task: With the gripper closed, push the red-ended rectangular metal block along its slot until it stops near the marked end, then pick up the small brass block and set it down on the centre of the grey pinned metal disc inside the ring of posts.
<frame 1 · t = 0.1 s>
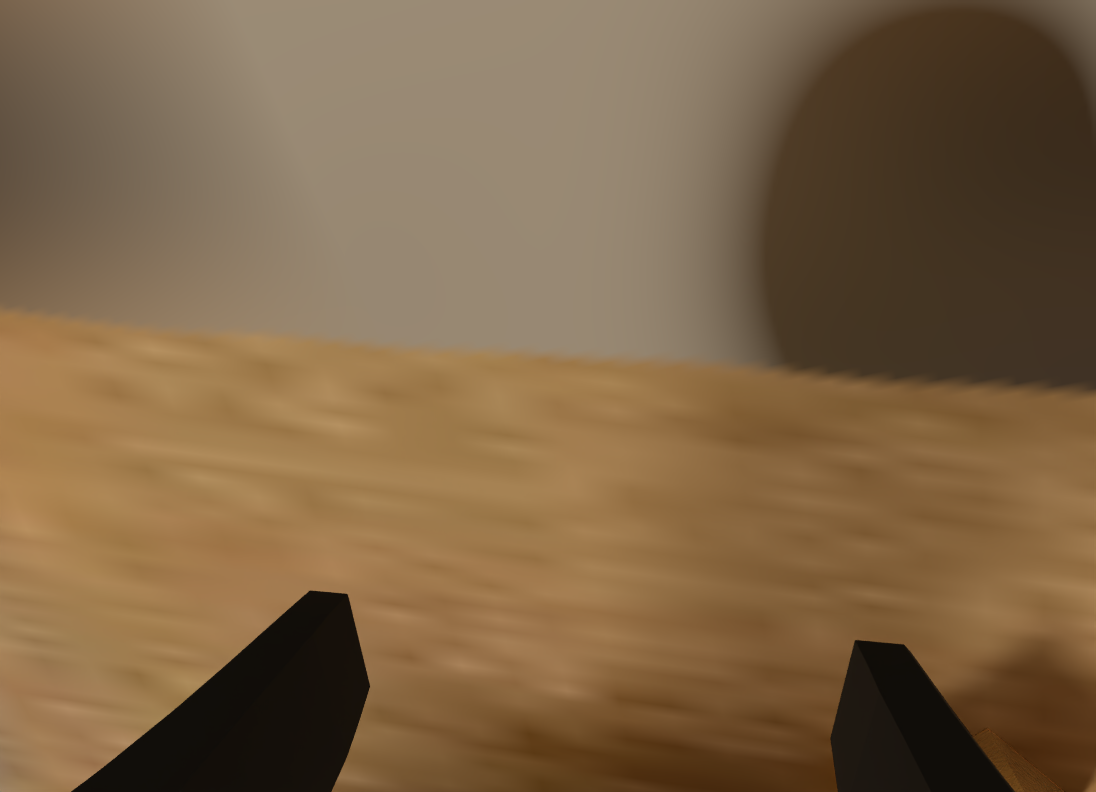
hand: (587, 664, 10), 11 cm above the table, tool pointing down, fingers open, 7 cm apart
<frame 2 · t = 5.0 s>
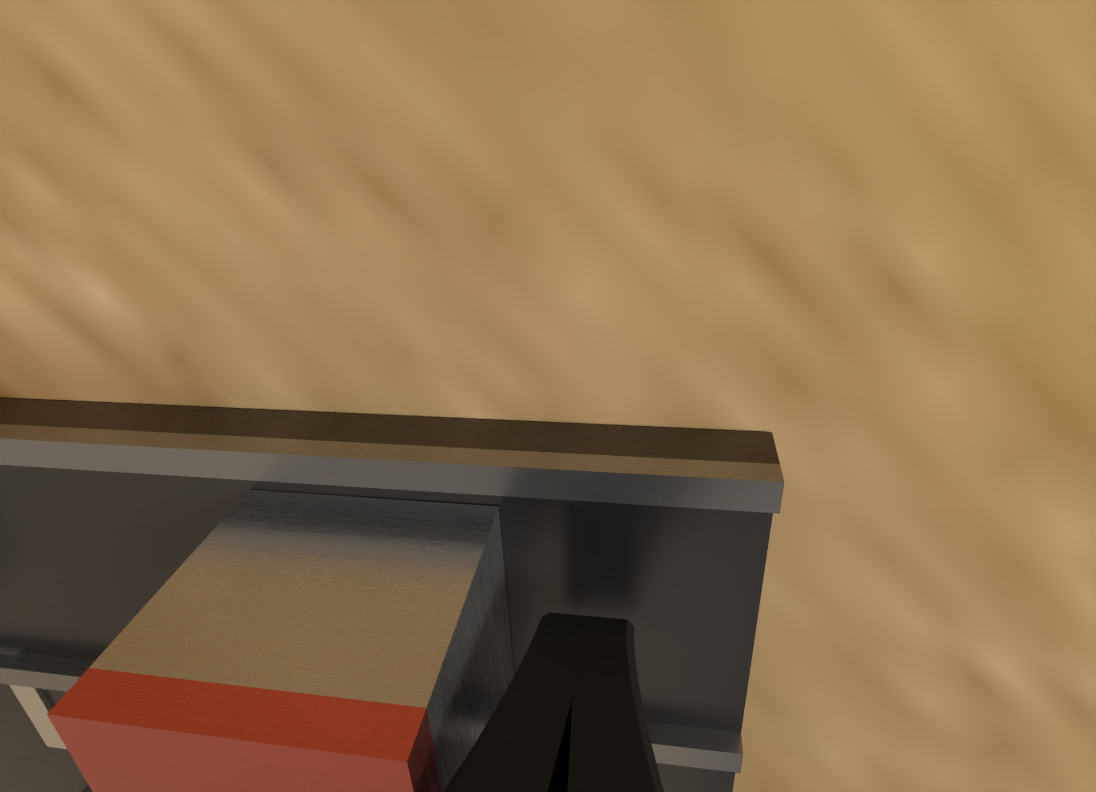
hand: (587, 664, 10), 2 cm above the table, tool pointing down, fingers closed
red-ended rectangular metal block: (390, 595, 11), point 1 cm above the table, touching gripper
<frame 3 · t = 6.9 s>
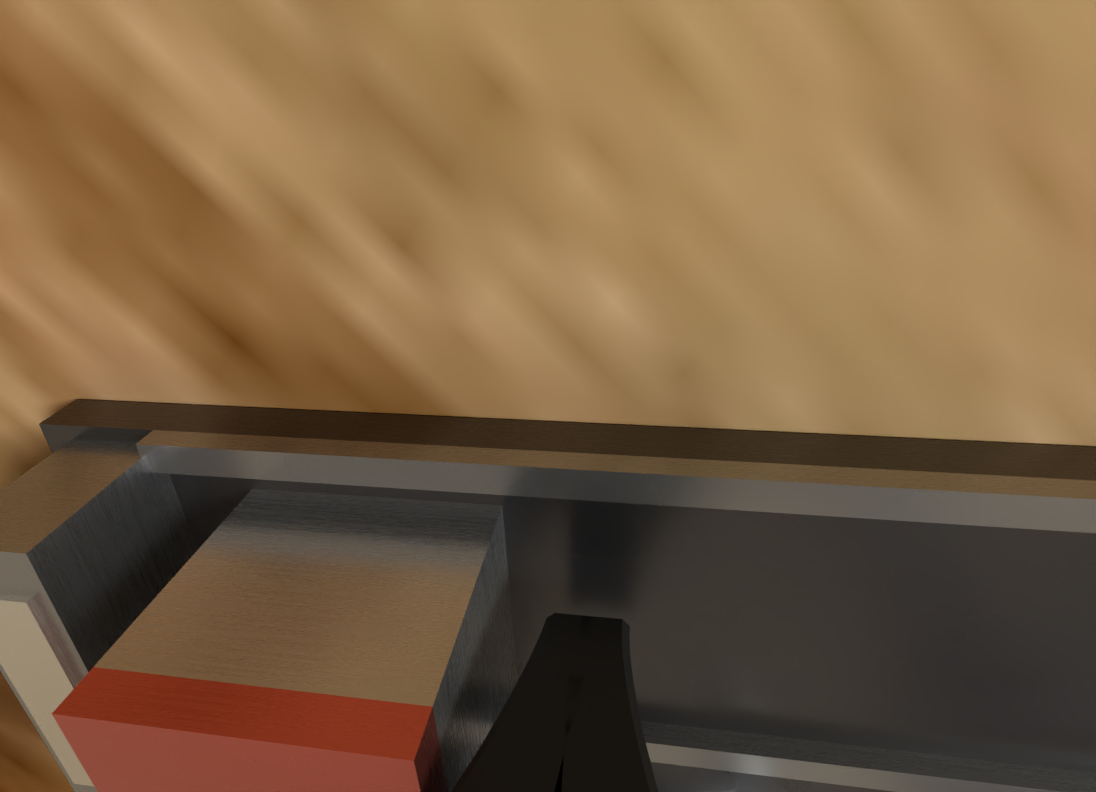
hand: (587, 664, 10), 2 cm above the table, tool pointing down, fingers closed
red-ended rectangular metal block: (393, 593, 11), point 1 cm above the table, touching base plate, gripper
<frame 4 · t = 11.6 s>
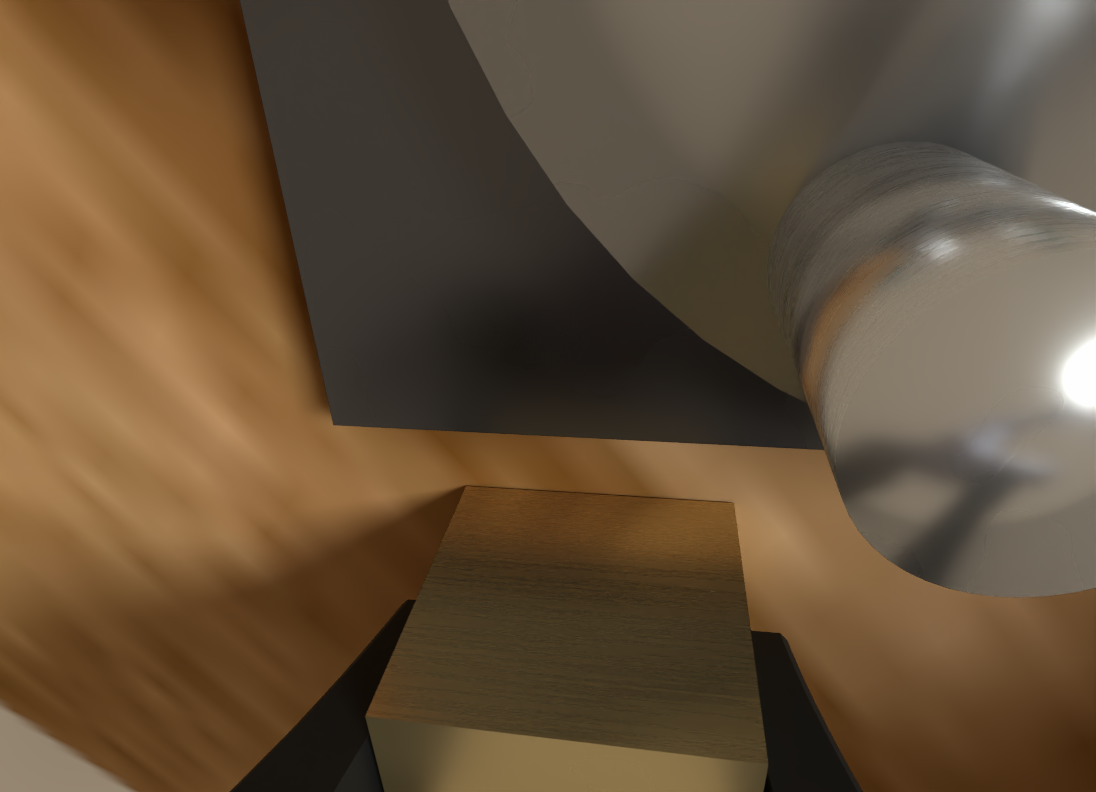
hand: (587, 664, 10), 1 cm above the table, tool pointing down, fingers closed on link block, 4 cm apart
link block: (596, 593, 11), on the table, touching gripper
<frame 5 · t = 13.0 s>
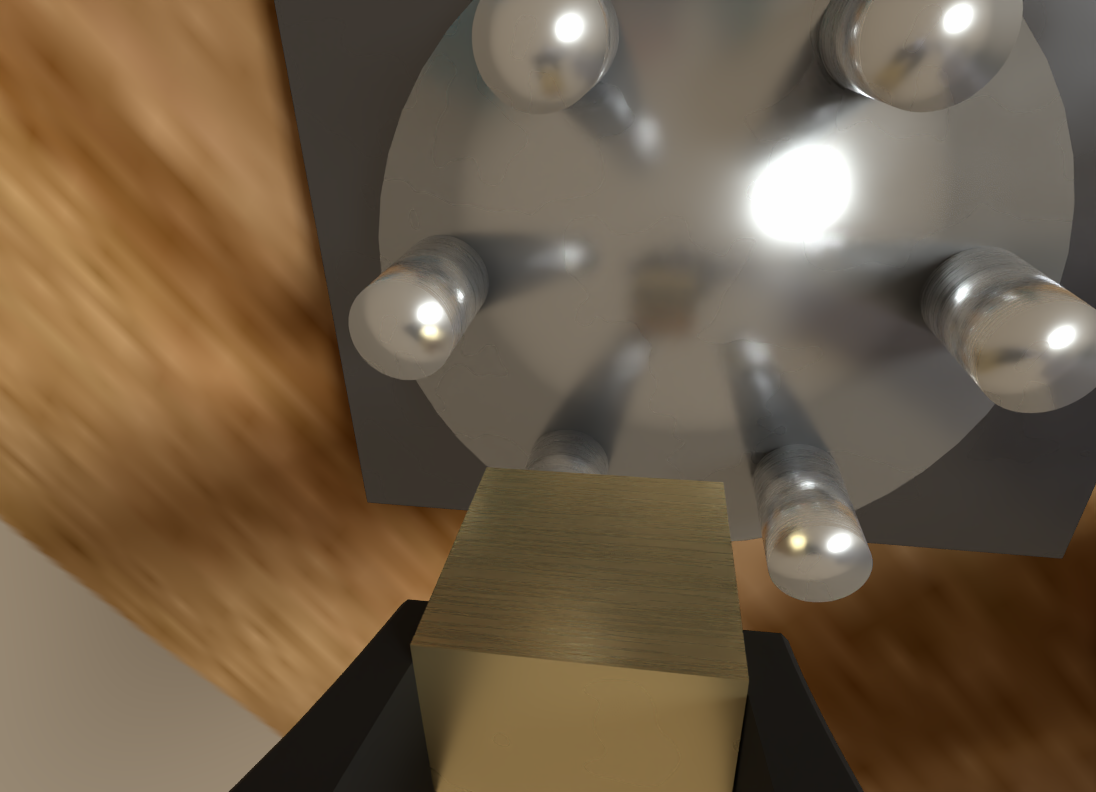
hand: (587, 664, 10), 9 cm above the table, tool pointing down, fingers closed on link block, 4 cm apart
pinned metal disc: (692, 258, 16), resting on base plate
link block: (600, 566, 12), point 7 cm above the table, touching gripper
base plate: (732, 72, 14), on the table
when the fingers open (6 cm above the table, at t = 14.3 s): link block drops 1 cm, resting on pinned metal disc.
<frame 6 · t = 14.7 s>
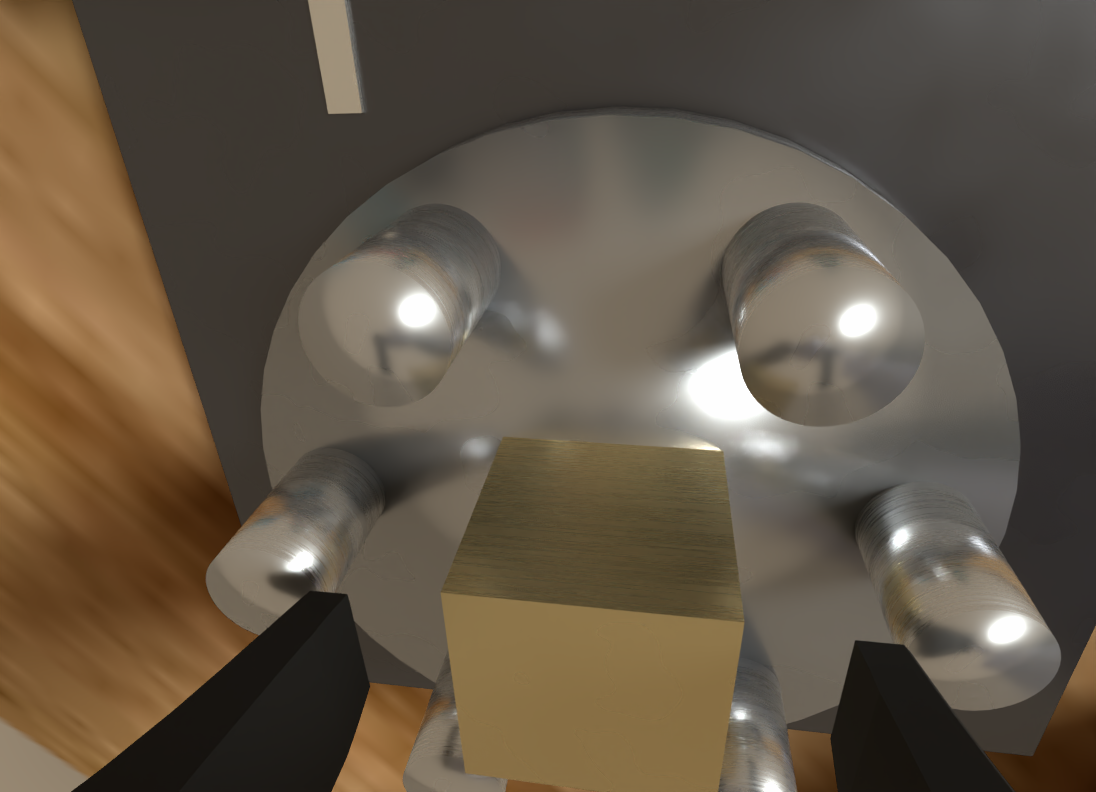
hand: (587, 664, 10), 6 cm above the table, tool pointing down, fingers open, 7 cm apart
pinned metal disc: (615, 449, 15), resting on base plate
link block: (608, 529, 13), point 2 cm above the table, touching pinned metal disc
base plate: (643, 272, 13), on the table
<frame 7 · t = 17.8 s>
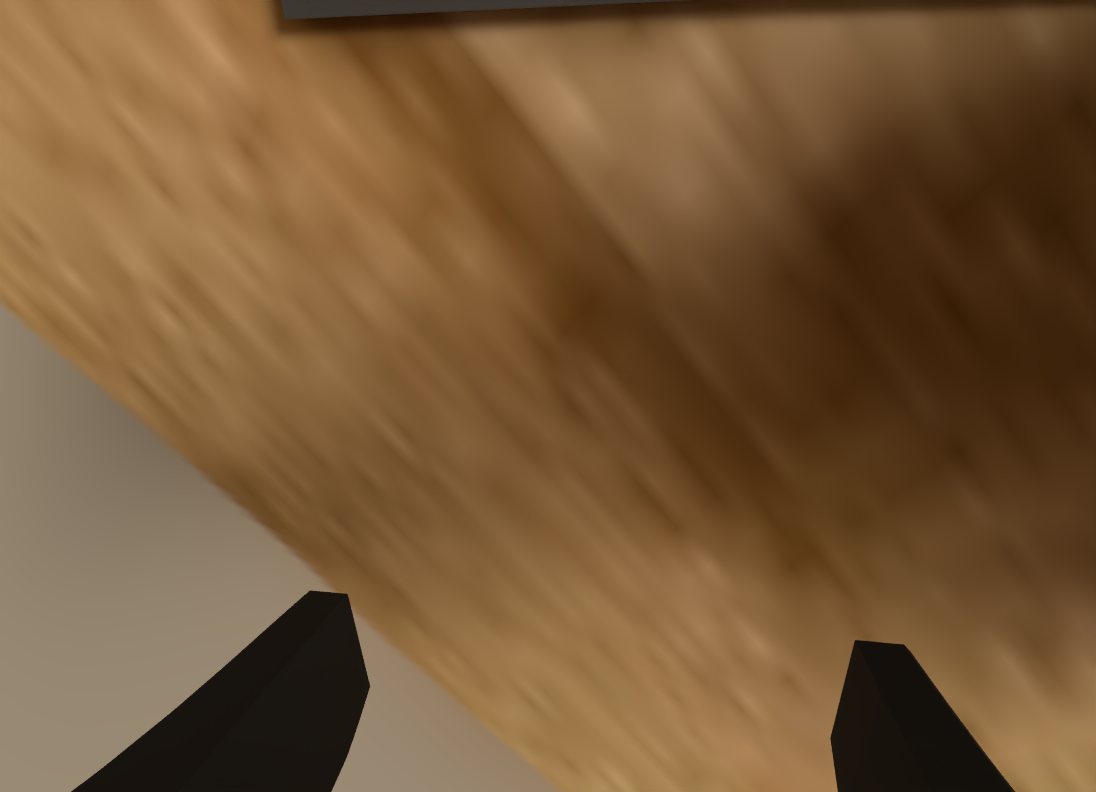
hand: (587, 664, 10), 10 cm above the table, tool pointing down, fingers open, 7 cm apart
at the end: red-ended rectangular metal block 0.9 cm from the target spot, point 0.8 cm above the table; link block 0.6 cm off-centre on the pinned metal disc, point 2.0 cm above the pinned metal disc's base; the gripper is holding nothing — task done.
